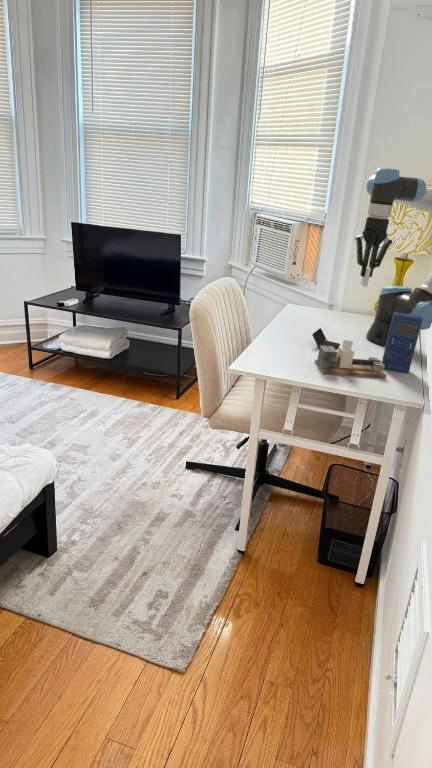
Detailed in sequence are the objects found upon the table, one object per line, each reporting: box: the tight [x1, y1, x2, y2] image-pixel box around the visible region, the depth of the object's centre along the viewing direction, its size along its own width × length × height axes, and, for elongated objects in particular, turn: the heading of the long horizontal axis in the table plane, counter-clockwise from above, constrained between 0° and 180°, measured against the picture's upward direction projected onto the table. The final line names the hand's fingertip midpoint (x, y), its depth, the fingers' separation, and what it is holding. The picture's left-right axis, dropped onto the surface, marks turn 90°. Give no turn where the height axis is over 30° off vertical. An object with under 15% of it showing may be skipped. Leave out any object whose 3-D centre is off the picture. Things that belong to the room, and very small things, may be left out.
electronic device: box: [381, 312, 423, 374], centre depth 184 cm, size 10×5×20 cm, turn 75°
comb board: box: [314, 346, 387, 379], centre depth 181 cm, size 22×11×7 cm, turn 94°
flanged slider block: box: [337, 339, 355, 369], centre depth 180 cm, size 4×5×9 cm
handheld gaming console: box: [311, 327, 341, 351], centre depth 205 cm, size 12×7×10 cm
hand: (363, 285), depth 188 cm, fingers closed
